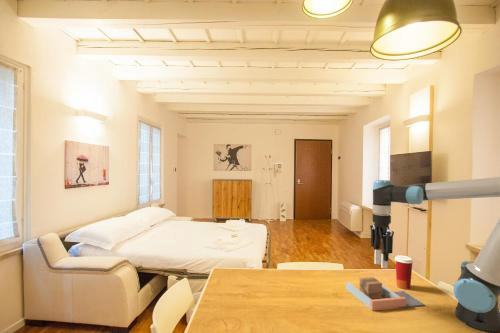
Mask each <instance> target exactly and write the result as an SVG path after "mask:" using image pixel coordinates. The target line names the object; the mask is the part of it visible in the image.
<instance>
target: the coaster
mask: <svg viewBox="0 0 500 333" xmlns="http://www.w3.org/2000/svg"><path fill="white" fill-rule="evenodd" d="M393 292H394V293H395V294H397V295H399V296H400V297H405V298H406V306H404V307H403V308H402V307H399V308H398V309H405V308H416V307H417V308H418V307H424V306H425V303H423V302H421V301H420V300H418V299H417V298H415V297H413V296H411V295H410V294H409V293H407V292H406V291H404V290H403V291H393ZM382 298H383V299H385V298H389V297H388V296H386V295H385V294H384V293H382Z"/></svg>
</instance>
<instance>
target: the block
mask: <svg viewBox="0 0 500 333" xmlns="http://www.w3.org/2000/svg"><path fill="white" fill-rule="evenodd" d="M382 285H383V282H381V281H380V280H378V278H377V279H376V278H375V277H373V276H368V277H367V276H366V277H359V290H360V291H361V292H363V293H364V294H365V295H366V296H368V297H369V298H370V299H372V300H373V299H383V297H382Z"/></svg>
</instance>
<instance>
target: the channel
mask: <svg viewBox="0 0 500 333" xmlns="http://www.w3.org/2000/svg"><path fill="white" fill-rule="evenodd" d="M345 290H347V291H348V292H349V293H350V294H352V295H353V296H354V297H355V298H357V299H358V301H360V302H361V303H362V304H364V305H365V306H366V307H367V308H368V309H370V310H371V311H373V312H374V311H385V310H394V309H400V308H399V307H402V308H401V309H404V308H403V307H404V306H406V298H405V297H400V296H399V295H397V294H395V293H394V292H395V291H392V290H391V289H389V288H388V287H387V286H385V285H383V284H382V293H384V294H385V295H386V296H388V297H389V298H372V299H370V298H369V297H368V296H366V295H365V294H364V293H363V292H361V291H360V288H357V287H356V286H355V285H354V284H353V283H352V282H350V281H349V282H345Z"/></svg>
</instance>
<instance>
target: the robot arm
mask: <svg viewBox="0 0 500 333" xmlns="http://www.w3.org/2000/svg"><path fill="white" fill-rule="evenodd" d="M392 183H393V182H392V181H391V180H388V179H375V180H374V181H373V182H372V186H373V187H372V213H373V214H372V222H373V223H374V224H373V225H369V228H370V246H371V247H372V248H373V253H374V264H375V265H381V269H388V268H389V267H388V266H389V254H393V248H394V247H393V246H394V244H393V243H394V234H395V232H394V231H393V230H391V229H390V226H389V225H391V223H392V216H391V214H392V203H400V204H408V205H409V204H410V205H421V204H422V203H423V201H436V200H437V201H438V200H440V201H441V200H458V199H459V200H463V199H482V198H483V199H484V198H500V176H497V177H485V178H474V179H473V178H471V179H463V180H462V179H461V180H451V181H439V182H428V183H413V184H412V183H411V184H408V185H396V184H392ZM453 295H454V297H455V299H456V301H457V305H456V307H455V309H454V311H455V312H454V313H455V314H454V315H455V317H456V318H457V319H458V321H459V320H460V321H461V322H462V323H464V324H466V325H467V326H469V327H472V328H474V329H477V330H480V331H484V332H491V333H498V332H500V309H499V308H500V307H499V297H500V217H499V218H498V220H497V222H496V223H495V225H494V227H493V229H492V230H491V231H490V234H489V235H488V237H487V239H486V241H485V243H484V244H483V246H482V248H481V249H480V251H479V253H478V255H477V257H476V258H475V260H474V261H462V262H461V264H460V275H459V277H458V279H457V280H456V281H455V283H454V284H453Z"/></svg>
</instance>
